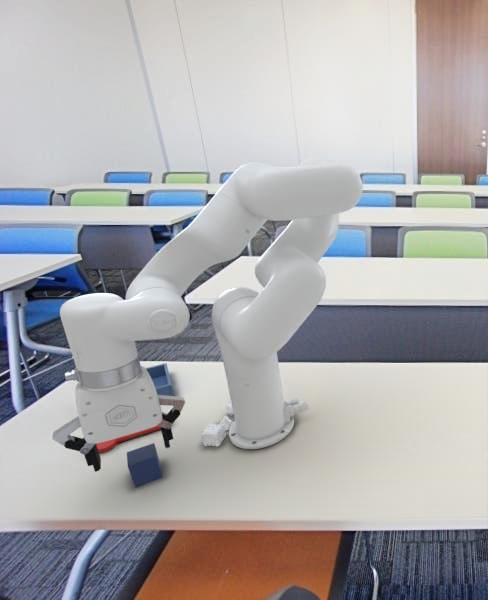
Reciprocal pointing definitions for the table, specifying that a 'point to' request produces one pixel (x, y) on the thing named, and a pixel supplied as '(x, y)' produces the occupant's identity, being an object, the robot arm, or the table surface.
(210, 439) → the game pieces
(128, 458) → the blue block
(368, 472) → the table surface
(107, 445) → the red spoon
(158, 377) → the blue tray
